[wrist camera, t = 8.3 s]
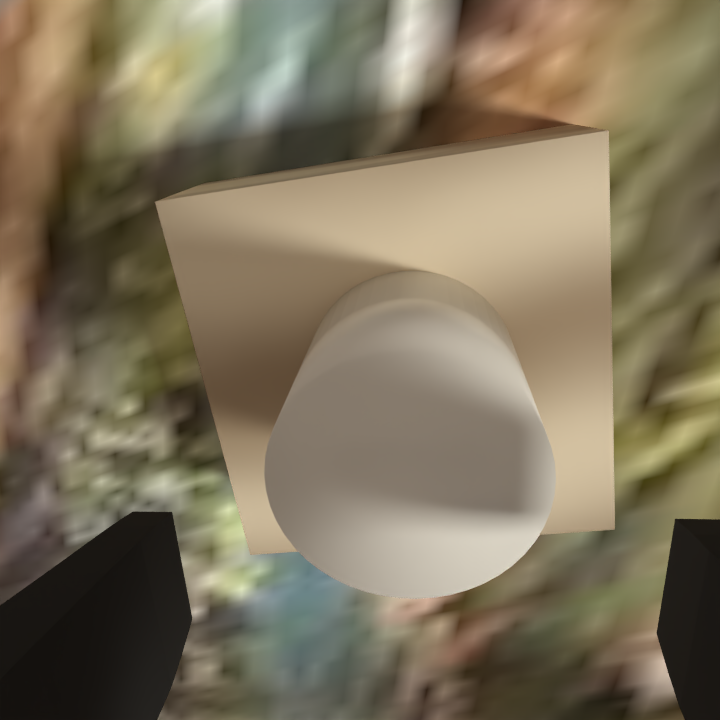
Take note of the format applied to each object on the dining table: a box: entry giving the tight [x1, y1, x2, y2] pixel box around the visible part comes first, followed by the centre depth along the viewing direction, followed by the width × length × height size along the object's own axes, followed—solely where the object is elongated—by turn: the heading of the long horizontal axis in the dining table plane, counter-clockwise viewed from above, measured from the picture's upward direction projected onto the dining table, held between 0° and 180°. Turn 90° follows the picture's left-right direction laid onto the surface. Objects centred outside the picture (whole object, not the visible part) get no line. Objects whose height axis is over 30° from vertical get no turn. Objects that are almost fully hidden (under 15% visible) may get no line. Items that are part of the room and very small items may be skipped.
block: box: [155, 124, 615, 555], centre depth 18 cm, size 10×10×4 cm
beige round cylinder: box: [264, 271, 556, 599], centre depth 13 cm, size 5×5×5 cm
